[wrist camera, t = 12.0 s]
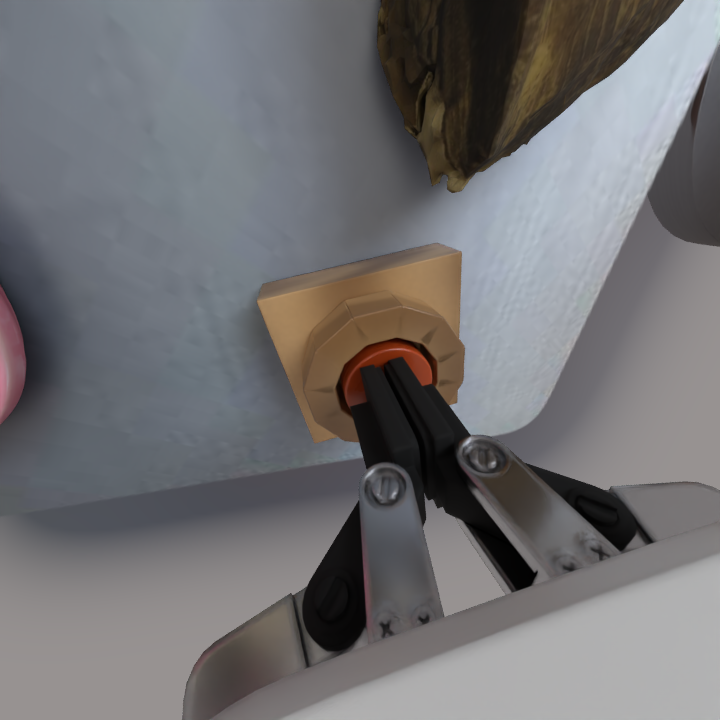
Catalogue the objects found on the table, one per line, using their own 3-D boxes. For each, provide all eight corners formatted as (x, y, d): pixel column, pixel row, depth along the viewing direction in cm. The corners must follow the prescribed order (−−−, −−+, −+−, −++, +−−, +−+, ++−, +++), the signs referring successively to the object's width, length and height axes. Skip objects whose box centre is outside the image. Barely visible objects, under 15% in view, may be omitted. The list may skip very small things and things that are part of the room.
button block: (437, 242, 12) (490, 261, 9) (439, 380, 17) (476, 426, 13) (261, 283, 12) (249, 320, 8) (312, 415, 16) (316, 473, 13)
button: (414, 318, 11) (432, 337, 10) (418, 385, 13) (434, 409, 12) (329, 340, 11) (335, 363, 10) (347, 405, 13) (354, 432, 12)
